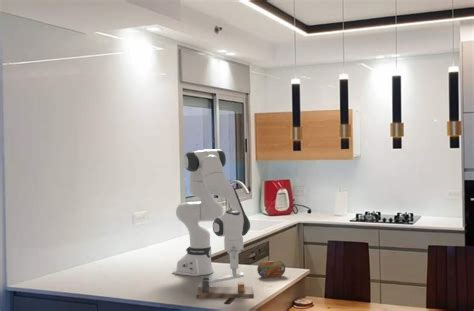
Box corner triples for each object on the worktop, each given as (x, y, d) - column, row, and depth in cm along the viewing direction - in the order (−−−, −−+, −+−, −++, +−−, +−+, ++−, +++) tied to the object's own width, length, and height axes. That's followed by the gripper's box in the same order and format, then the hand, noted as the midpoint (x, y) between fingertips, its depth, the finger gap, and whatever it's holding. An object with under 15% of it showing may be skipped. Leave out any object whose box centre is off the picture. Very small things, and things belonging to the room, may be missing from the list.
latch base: (196, 298, 244) (196, 283, 244) (198, 290, 258) (198, 275, 258) (253, 297, 244) (253, 282, 244) (252, 289, 258) (252, 274, 258)
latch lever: (204, 284, 249) (204, 282, 249) (205, 282, 253) (204, 280, 253) (243, 276, 249) (243, 274, 249) (243, 274, 253) (243, 272, 253)
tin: (258, 278, 280) (258, 262, 280) (256, 277, 283) (256, 261, 283) (285, 276, 284) (285, 260, 284) (283, 275, 287) (283, 259, 287)
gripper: (241, 248, 240) (241, 279, 240) (240, 242, 261) (240, 270, 261) (226, 249, 240) (227, 280, 240) (227, 242, 261) (227, 270, 260)
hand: (234, 275), depth 250 cm, fingers closed, pressing on latch lever
